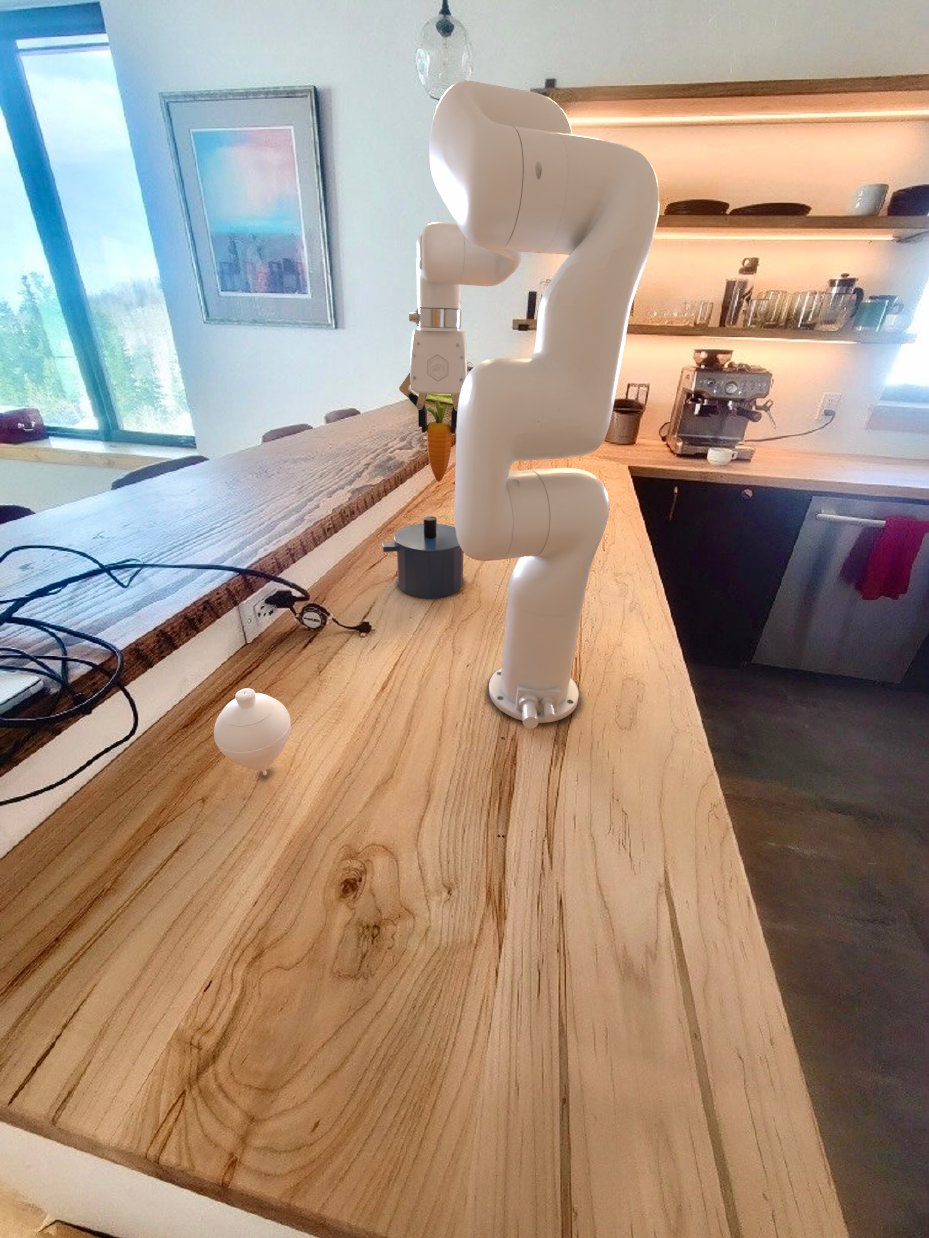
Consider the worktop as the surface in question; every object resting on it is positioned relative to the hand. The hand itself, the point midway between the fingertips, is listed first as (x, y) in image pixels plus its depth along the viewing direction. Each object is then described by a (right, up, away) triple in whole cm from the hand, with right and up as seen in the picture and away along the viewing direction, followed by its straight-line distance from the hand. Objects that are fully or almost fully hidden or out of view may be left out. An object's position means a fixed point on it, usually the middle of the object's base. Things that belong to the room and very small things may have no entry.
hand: (439, 430), depth 96 cm
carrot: (0, -8, +5) cm, 10 cm away
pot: (-2, -29, +4) cm, 29 cm away
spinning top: (-18, -54, -38) cm, 69 cm away
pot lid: (-2, -21, -1) cm, 21 cm away
